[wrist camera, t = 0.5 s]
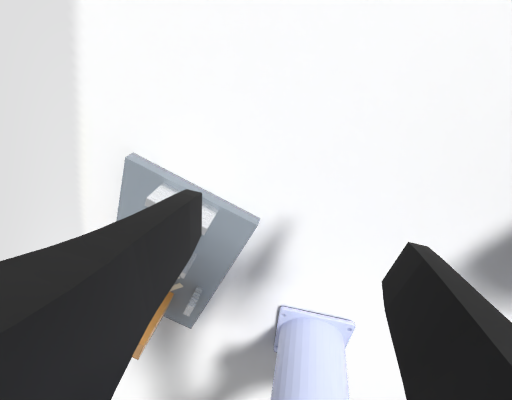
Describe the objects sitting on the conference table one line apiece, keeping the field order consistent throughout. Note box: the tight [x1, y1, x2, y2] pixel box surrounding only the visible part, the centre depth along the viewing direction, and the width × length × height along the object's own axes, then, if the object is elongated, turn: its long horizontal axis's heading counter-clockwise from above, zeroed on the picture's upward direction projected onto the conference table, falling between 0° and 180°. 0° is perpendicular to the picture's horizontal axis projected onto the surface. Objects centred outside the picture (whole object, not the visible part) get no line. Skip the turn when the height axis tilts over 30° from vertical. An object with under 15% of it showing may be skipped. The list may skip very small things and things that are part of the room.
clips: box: [183, 286, 203, 316], centre depth 25 cm, size 6×9×2 cm, turn 65°
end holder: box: [145, 182, 218, 279], centre depth 21 cm, size 7×5×2 cm
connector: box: [132, 292, 174, 360], centre depth 27 cm, size 4×4×6 cm
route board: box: [117, 153, 260, 329], centre depth 26 cm, size 21×12×1 cm, turn 155°
